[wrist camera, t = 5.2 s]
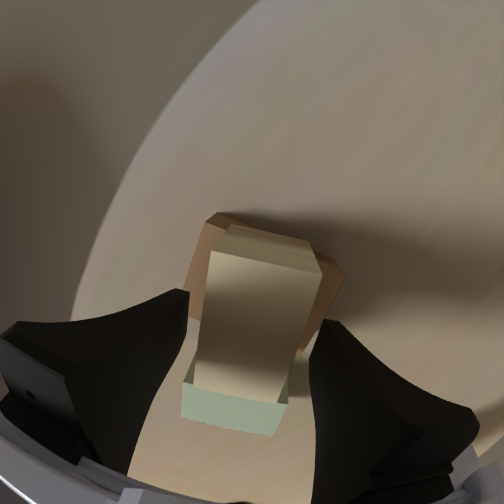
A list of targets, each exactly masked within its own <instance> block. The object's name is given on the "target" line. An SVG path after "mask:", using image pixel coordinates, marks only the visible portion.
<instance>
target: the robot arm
mask: <svg viewBox="0 0 504 504" xmlns="http://www.w3.org/2000/svg"><path fill="white" fill-rule="evenodd" d="M189 300H190V292H189V291H185V290H181V289H177V288H175V289H172V290H170V291H168V292H166V293H163V294H161V295H159V296H157V297H155V298H152V299H150V300H148V301H146V302H143V303H141V304H138V305H136V306H133V307H131V308H128V309H125V310H123V311H120V312H116V313H113V314H109V315H105V316H102V317H97V318H91V319H85V320H79V321H71V322H56V323H41V322H24V321H17V322H16V323H15V324H14V325H12V326H11V327H10V328H8V329H7V330H6V331H5V332H3V333H2V334H1V335H0V372H1V374H2V377H3V379H4V381H5V383H6V385H7V387H8V389H9V393H8V394H7V395H6V396H5V397H4V398H3V399H2V400H0V480H1V481H2V482H3V483H5V484H6V485H7V486H8V487H9V488H10V489H12V490H13V491H14V492H15V493H16V494H18V495H19V496H20V497H22V498H23V499H24V500H26V501H27V502H28V503H29V504H222V503H217V502H212V501H207V500H202V499H198V498H193V497H189V496H185V495H182V494H178V493H174V492H171V491H167V490H164V489H161V488H158V487H155V486H152V485H149V484H146V483H143V482H140V481H138V480H135V479H132V478H130V477H127V473H128V470H129V466H130V463H131V459H132V456H133V453H134V450H135V447H136V444H137V441H138V438H139V435H140V432H141V429H142V427H143V424H144V421H145V419H146V416H147V413H148V411H149V408H150V406H151V403H152V401H153V399H154V397H155V395H156V393H157V391H158V389H159V387H160V386H161V384H162V382H163V380H164V378H165V377H166V375H167V373H168V371H169V370H170V368H171V366H172V364H173V363H174V361H175V359H176V357H177V355H178V354H179V351H180V349H181V346H182V344H183V341H184V339H185V336H186V333H187V321H188V310H189ZM309 383H310V390H311V397H312V404H313V411H314V418H315V429H316V452H315V472H314V482H313V492H312V499H311V504H504V475H503V473H502V471H501V469H500V466H499V464H498V462H496V461H495V462H493V463H491V464H488V465H486V466H484V467H482V468H480V464H479V459H478V457H477V455H476V453H475V450H474V448H473V446H472V444H471V443H472V441H473V440H474V439H475V437H476V436H477V434H478V432H479V428H480V424H479V422H478V420H477V418H476V416H475V415H474V413H473V411H472V410H471V409H470V408H468V407H465V406H461V405H458V404H455V403H452V402H449V401H446V400H444V399H442V398H439V397H437V396H435V395H432V394H430V393H428V392H426V391H424V390H422V389H420V388H419V387H417V386H415V385H413V384H412V383H410V382H408V381H407V380H405V379H404V378H402V377H401V376H399V375H398V374H397V373H395V372H394V371H392V370H391V369H390V368H388V367H387V366H386V365H385V364H383V363H382V362H381V361H380V360H379V359H378V358H376V357H375V356H374V355H373V354H372V353H371V352H370V351H369V350H368V349H367V348H365V347H364V346H363V345H362V344H361V343H360V342H359V341H358V340H357V339H356V338H355V337H354V336H353V335H352V334H351V333H350V332H349V331H348V330H347V329H346V328H345V327H344V326H343V325H342V324H341V323H340V322H338V321H333V320H327V319H324V320H323V322H322V325H321V328H320V331H319V333H318V336H317V339H316V342H315V344H314V347H313V349H312V352H311V355H310V357H309Z"/></svg>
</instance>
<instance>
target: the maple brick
mask: <svg viewBox="0 0 504 504" xmlns="http://www.w3.org/2000/svg"><path fill="white" fill-rule="evenodd" d="M322 275H323V274H322V272H321V270H320V267H319V265H318V262H317V260H316V257H315V255H314V253H313V250H312V248H311V246H310V243H309V241H306V240H302V239H297V238H293V237H288V236H284V235H279V234H275V233H270V232H266V231H261V230H257V229H252V228H247V227H243V226H238V225H233V224H231V225H230V226H229V228H228V229H227V230H226V232H225V233H224V234H223V236H222V237H221V238H220V239H219V241H218V242H217V243H216V245H215V246H214V248H213V249H212V250H211V255H210V261H209V268H208V274H207V281H206V288H205V294H204V301H203V309H202V316H201V323H200V331H199V339H198V347H197V355H196V364H195V373H194V382H193V387H196V388H200V389H204V390H208V391H212V392H216V393H220V394H225V395H229V396H234V397H239V398H244V399H249V400H255V401H261V402H267V403H273V404H276V403H277V400H278V398H279V395H280V393H281V391H282V388H283V386H284V383H285V381H286V378H287V376H288V373H289V370H290V368H291V365H292V363H293V360H294V357H295V355H296V352H297V349H298V347H299V344H300V341H301V338H302V336H303V333H304V330H305V327H306V324H307V321H308V318H309V315H310V312H311V309H312V306H313V303H314V300H315V297H316V294H317V291H318V288H319V285H320V282H321V278H322Z"/></svg>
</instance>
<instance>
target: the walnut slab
mask: <svg viewBox="0 0 504 504" xmlns="http://www.w3.org/2000/svg"><path fill="white" fill-rule="evenodd" d="M231 224H233V225H238V226H243V227H247V228H252V229H257V230H261V229H258V228H256V227H253V226H251V225H248V224H246V223H243V222H241V221H238V220H236V219H233V218H230V217H228V216H225V215H223V214H220V213H218V212H217V213H216V214H214V215H213V216H212V217H211V218H209V219H208V220H207V221H205V223H204V226H203V229H202V232H201V235H200V238H199V241H198V244H197V247H196V250H195V253H194V256H193V259H192V262H191V265H190V268H189V271H188V275H187V278H186V281H185V284H184V287H183V290H185V291H189V292H190V300H189V310H188V316H189V317H192V318H194V319H197V320H199V321H201V316H202V309H203V301H204V294H205V288H206V281H207V274H208V268H209V261H210V255H211V250H212V249H213V248H214V246H215V245H216V243H217V242H218V241H219V239H220V238H221V237H222V236H223V234H224V233H225V232H226V230H227V229H228V228H229V226H230V225H231ZM261 231H263V230H261ZM313 253H314V255H315V257H316V260H317V262H318V265H319V267H320V270H321V272H322V274H323V275H322V278H321V282H320V285H319V288H318V291H317V294H316V297H315V300H314V303H313V306H312V309H311V312H310V315H309V318H308V321H307V324H306V327H305V330H304V333H303V336H302V338H301V341H300V344H299V347H298V349H297V352H296V355H295V356H298V357H300V356H301V355H302V353H303V351H304V350H305V348H306V347H307V345H308V343H309V342H310V340H311V338H312V337H313V335H314V333H315V332H316V330H317V328H318V327H319V325H320V323H321V322H322V320H323V318H324V316H325V315H326V313H327V311H328V309H329V308H330V306H331V304H332V302H333V300H334V299H335V297H336V295H337V293H338V291H339V289H340V288H341V286H342V284H343V282H344V280H345V277H344V275H343V274H342V272H341V270H340V268H339V267H338V265H337V263H336V261H335V260H333V259H331V258H329V257H326V256H324V255H322V254H319V253H317V252H314V251H313Z"/></svg>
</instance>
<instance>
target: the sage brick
mask: <svg viewBox="0 0 504 504" xmlns="http://www.w3.org/2000/svg"><path fill="white" fill-rule="evenodd" d="M196 355H197V351H196V353H195V355H194V358H193V360H192V362H191V365H190V367H189V369H188V372H187V374H186V377H185V379H184V381H183V391H182V406H181V417H184V418H188V419H191V420H195V421H199V422H203V423H207V424H211V425H215V426H219V427H224V428H229V429H233V430H238V431H244V432H249V433H255V434H261V435H268V436H273V435H274V433H275V431H276V429H277V427H278V425H279V423H280V421H281V419H282V417H283V414H284V412H285V410H286V408H287V406H288V376H287V378H286V381H285V383H284V386H283V388H282V391H281V393H280V395H279V398H278V400H277V403H276V404H273V403H267V402H261V401H255V400H249V399H244V398H239V397H234V396H229V395H225V394H220V393H216V392H212V391H208V390H204V389H200V388H196V387H193V382H194V373H195V364H196Z"/></svg>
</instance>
